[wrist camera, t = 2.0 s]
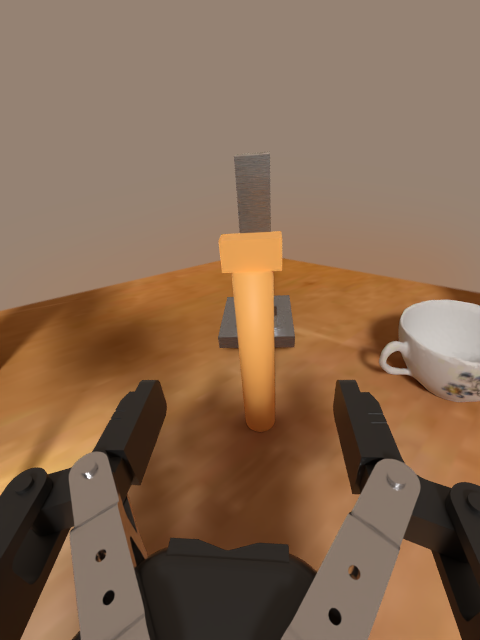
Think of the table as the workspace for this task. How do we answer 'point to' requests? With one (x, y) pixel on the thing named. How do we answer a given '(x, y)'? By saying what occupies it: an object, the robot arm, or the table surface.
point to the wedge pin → (254, 317)
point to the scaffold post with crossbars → (255, 219)
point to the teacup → (440, 348)
